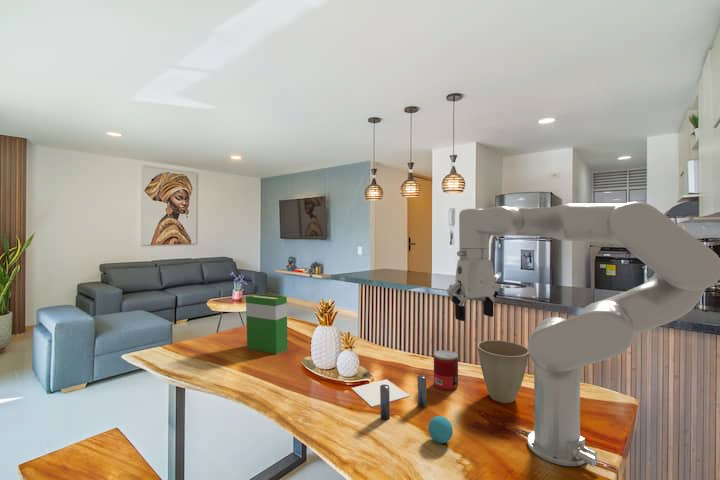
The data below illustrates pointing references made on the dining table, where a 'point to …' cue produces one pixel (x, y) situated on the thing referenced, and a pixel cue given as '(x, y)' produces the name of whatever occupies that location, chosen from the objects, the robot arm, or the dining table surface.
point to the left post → (384, 402)
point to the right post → (422, 392)
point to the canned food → (446, 370)
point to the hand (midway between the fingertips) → (474, 317)
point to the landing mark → (378, 392)
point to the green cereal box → (267, 323)
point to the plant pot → (503, 368)
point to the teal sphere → (440, 429)
